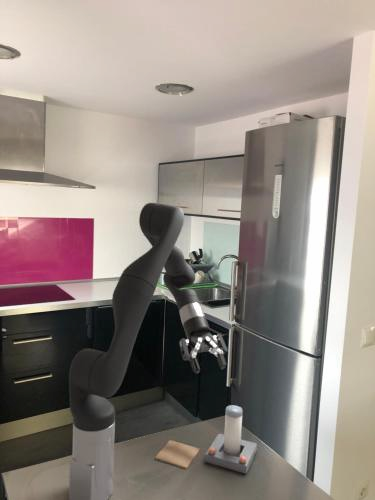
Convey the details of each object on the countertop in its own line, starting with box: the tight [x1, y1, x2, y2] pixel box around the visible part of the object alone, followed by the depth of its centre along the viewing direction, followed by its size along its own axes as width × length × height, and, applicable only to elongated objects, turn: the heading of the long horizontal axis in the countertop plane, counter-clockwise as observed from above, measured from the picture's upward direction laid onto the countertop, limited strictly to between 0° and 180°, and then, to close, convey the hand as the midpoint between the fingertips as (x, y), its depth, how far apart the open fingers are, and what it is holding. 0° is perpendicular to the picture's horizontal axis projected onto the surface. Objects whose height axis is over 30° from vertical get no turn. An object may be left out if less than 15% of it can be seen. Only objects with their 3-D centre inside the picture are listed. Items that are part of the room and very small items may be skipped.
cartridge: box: [223, 404, 243, 457], centre depth 107 cm, size 4×4×13 cm
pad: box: [154, 439, 201, 470], centre depth 108 cm, size 9×9×1 cm
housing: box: [204, 433, 258, 475], centre depth 108 cm, size 11×11×4 cm
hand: (211, 370), depth 117 cm, fingers open, 8 cm apart
